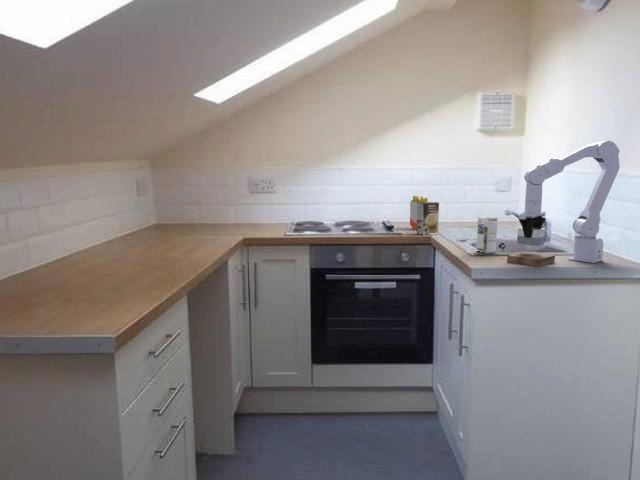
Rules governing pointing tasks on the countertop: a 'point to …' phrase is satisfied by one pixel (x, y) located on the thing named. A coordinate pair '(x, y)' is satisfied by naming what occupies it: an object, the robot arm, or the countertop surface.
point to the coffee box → (427, 217)
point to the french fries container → (415, 210)
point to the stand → (531, 258)
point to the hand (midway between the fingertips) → (531, 236)
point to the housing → (535, 239)
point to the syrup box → (486, 234)
